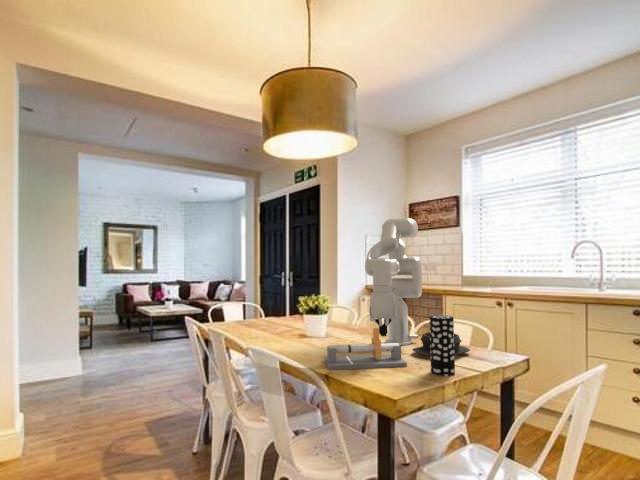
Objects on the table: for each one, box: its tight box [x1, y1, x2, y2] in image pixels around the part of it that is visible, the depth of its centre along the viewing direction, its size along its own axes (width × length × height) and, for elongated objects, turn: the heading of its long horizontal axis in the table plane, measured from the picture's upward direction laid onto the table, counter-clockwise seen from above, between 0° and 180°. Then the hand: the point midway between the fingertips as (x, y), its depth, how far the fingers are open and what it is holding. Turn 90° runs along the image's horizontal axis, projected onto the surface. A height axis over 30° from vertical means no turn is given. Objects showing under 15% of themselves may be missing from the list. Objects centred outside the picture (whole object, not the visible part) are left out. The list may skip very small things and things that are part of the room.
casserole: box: [412, 331, 471, 356], centre depth 170 cm, size 25×19×8 cm
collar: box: [371, 327, 382, 359], centre depth 157 cm, size 2×7×11 cm, turn 6°
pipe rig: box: [324, 342, 408, 371], centre depth 156 cm, size 30×14×8 cm, turn 96°
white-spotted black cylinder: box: [429, 314, 456, 377], centre depth 142 cm, size 8×8×20 cm
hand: (383, 335), depth 157 cm, fingers closed
